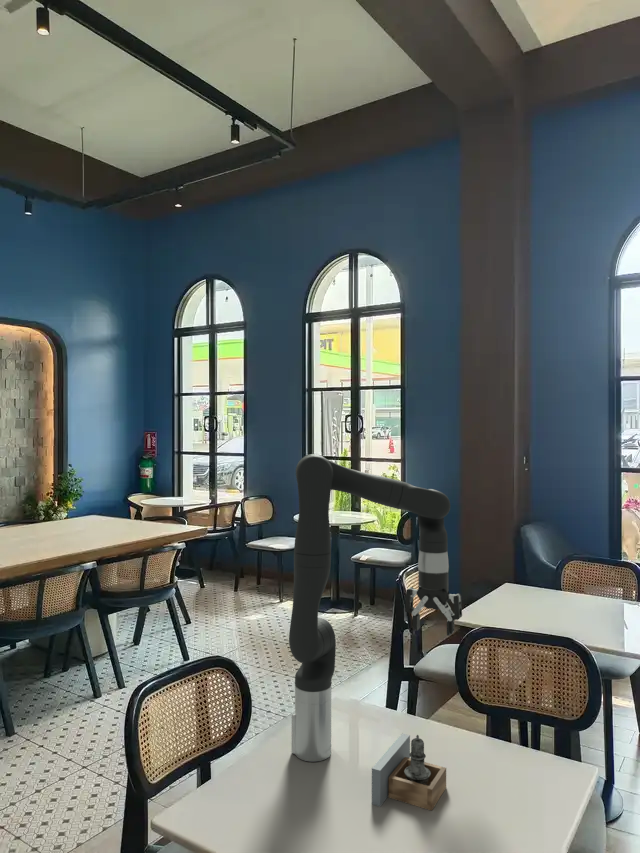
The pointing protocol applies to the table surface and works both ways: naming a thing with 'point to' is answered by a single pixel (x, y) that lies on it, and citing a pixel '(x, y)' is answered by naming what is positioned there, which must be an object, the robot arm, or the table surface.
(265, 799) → the table surface
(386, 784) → the backstop board
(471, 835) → the table surface
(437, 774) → the socket block
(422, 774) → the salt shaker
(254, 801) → the table surface
